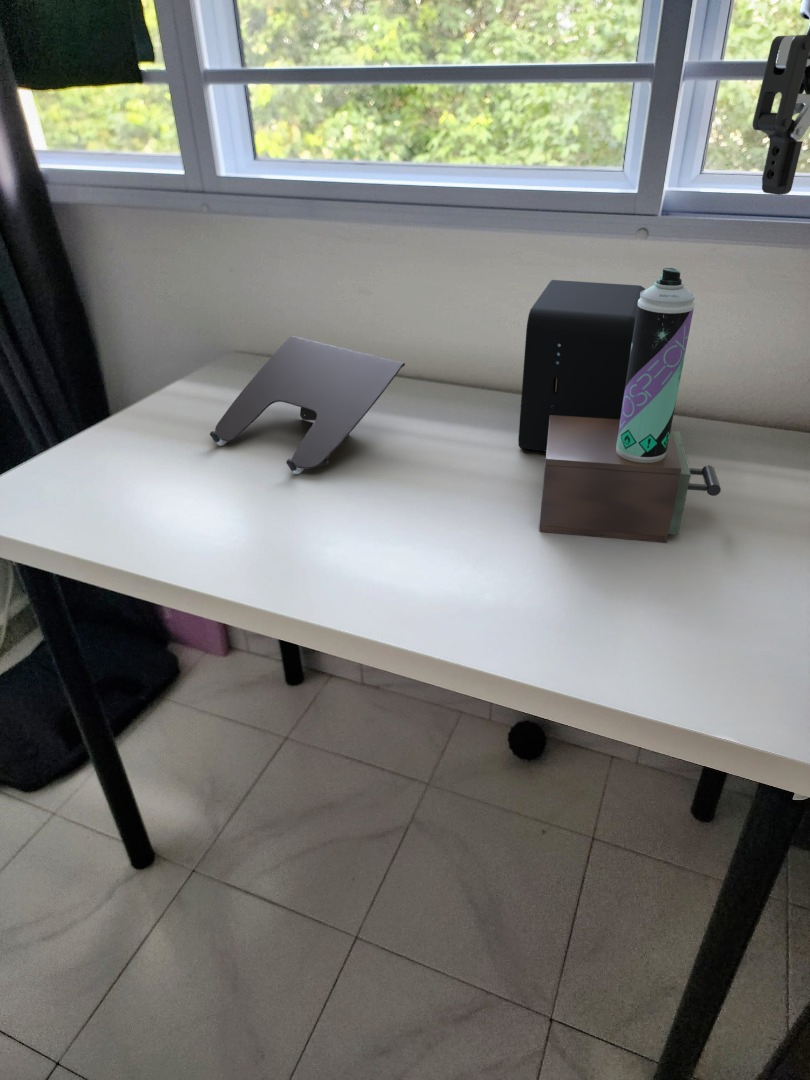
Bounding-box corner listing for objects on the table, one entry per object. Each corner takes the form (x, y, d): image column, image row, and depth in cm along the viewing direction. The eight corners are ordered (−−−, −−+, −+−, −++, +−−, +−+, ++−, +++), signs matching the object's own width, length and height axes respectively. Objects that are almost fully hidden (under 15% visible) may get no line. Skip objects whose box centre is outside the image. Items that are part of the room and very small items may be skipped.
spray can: (605, 447, 86) (631, 266, 75) (643, 438, 88) (674, 261, 77) (637, 467, 82) (668, 278, 71) (676, 457, 84) (713, 272, 73)
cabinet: (657, 490, 97) (670, 422, 92) (666, 542, 87) (681, 468, 81) (543, 482, 99) (549, 414, 94) (538, 531, 89) (545, 458, 84)
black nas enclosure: (621, 467, 102) (644, 322, 92) (516, 454, 107) (527, 312, 96) (633, 412, 119) (654, 282, 108) (542, 402, 123) (553, 276, 112)
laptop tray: (223, 468, 117) (193, 428, 110) (308, 367, 125) (285, 324, 118) (332, 511, 105) (307, 470, 98) (418, 397, 114) (400, 351, 106)
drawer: (703, 490, 95) (716, 433, 91) (716, 537, 86) (731, 477, 81) (561, 479, 98) (567, 424, 94) (559, 524, 89) (565, 465, 84)
